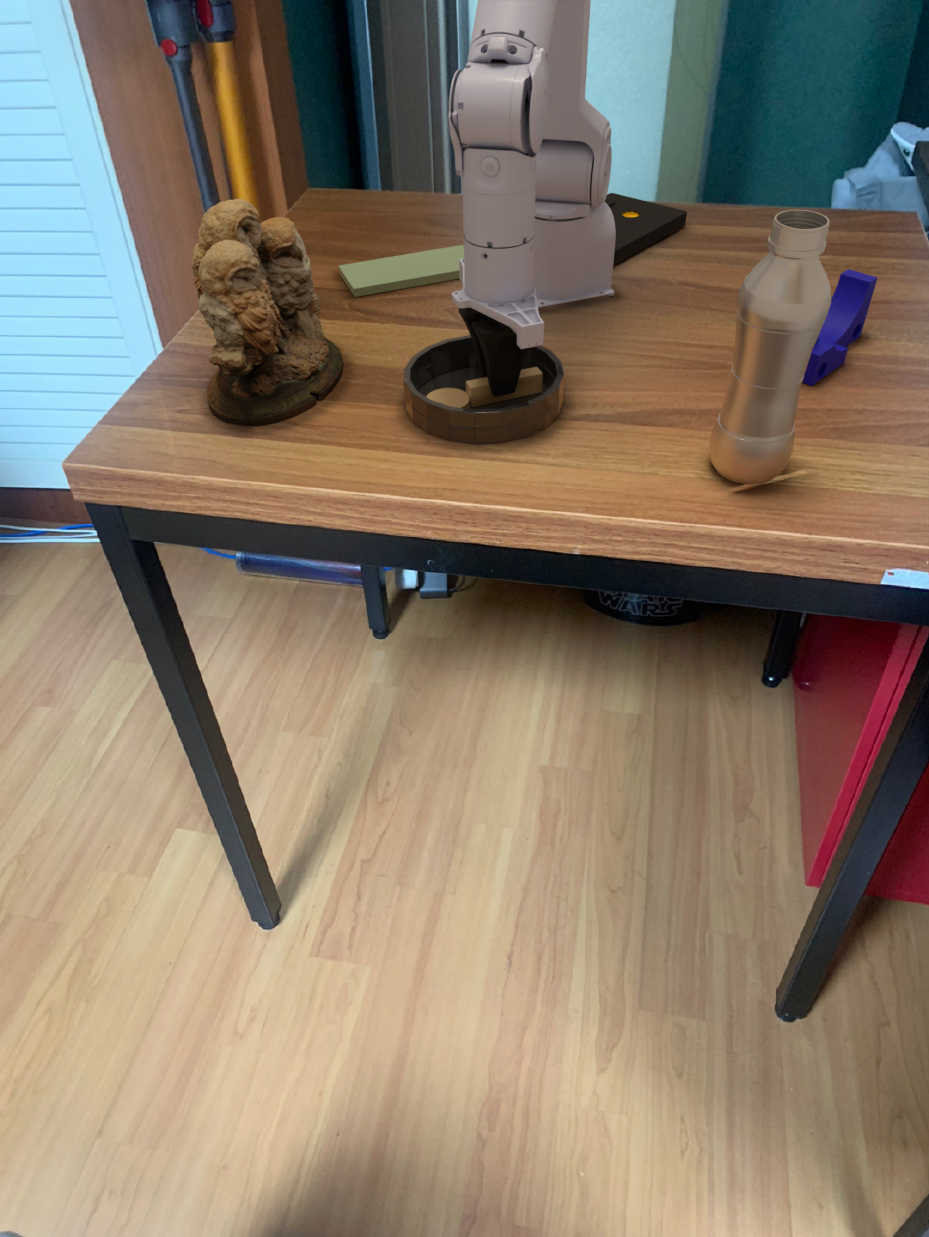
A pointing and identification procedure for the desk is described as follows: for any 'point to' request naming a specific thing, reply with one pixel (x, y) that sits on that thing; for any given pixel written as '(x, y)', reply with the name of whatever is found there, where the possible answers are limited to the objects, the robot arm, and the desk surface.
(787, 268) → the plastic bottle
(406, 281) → the board
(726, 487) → the desk surface
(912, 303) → the desk surface
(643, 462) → the desk surface
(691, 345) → the desk surface
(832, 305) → the blue curved bracket
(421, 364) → the pan
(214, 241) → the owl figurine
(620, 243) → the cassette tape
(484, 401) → the wooden paddle
